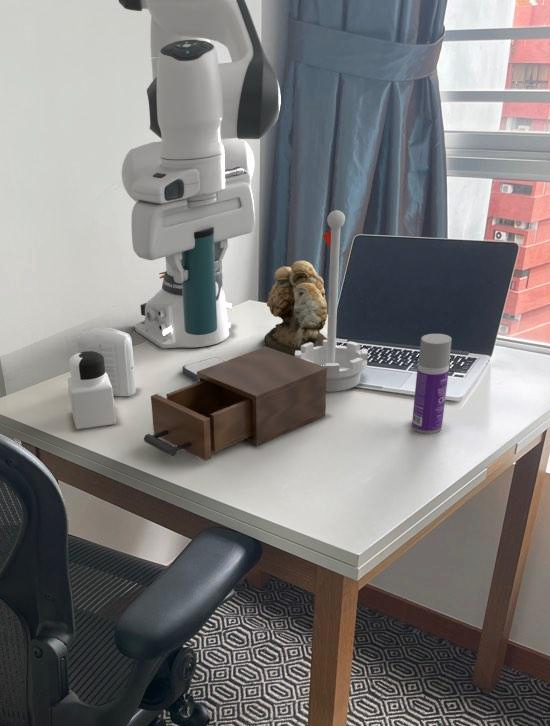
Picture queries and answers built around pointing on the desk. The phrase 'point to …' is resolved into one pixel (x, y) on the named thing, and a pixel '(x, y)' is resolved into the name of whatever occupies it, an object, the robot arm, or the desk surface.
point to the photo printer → (112, 356)
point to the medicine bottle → (90, 391)
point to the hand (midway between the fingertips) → (198, 276)
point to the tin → (200, 285)
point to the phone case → (199, 367)
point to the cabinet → (273, 390)
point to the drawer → (200, 419)
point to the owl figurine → (297, 308)
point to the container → (431, 383)
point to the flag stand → (338, 359)
